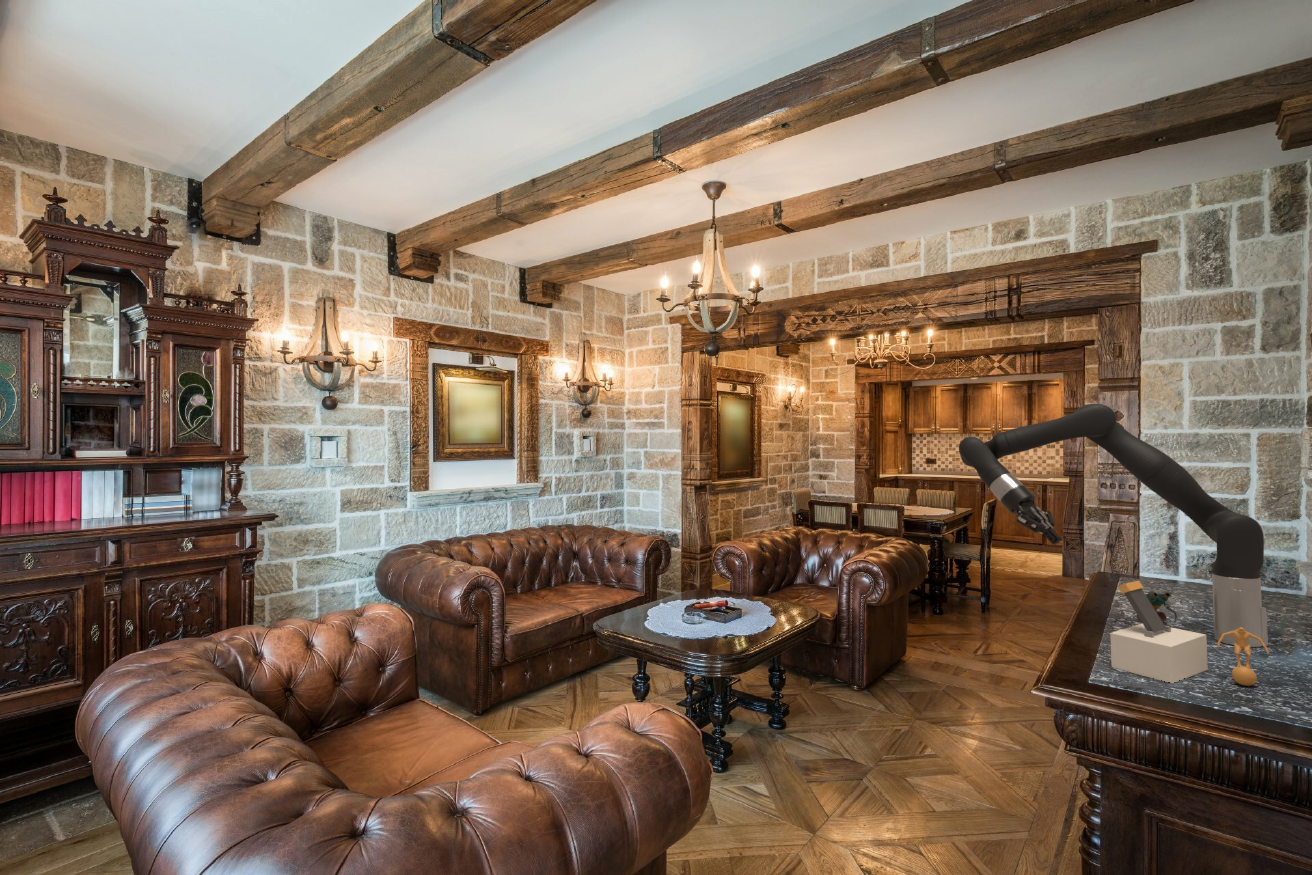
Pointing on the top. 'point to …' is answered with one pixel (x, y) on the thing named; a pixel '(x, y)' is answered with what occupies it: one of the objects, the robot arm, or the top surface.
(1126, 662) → the breaker housing
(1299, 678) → the top surface
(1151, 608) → the handle
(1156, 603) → the binoculars
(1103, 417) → the robot arm
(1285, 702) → the top surface
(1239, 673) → the figurine
